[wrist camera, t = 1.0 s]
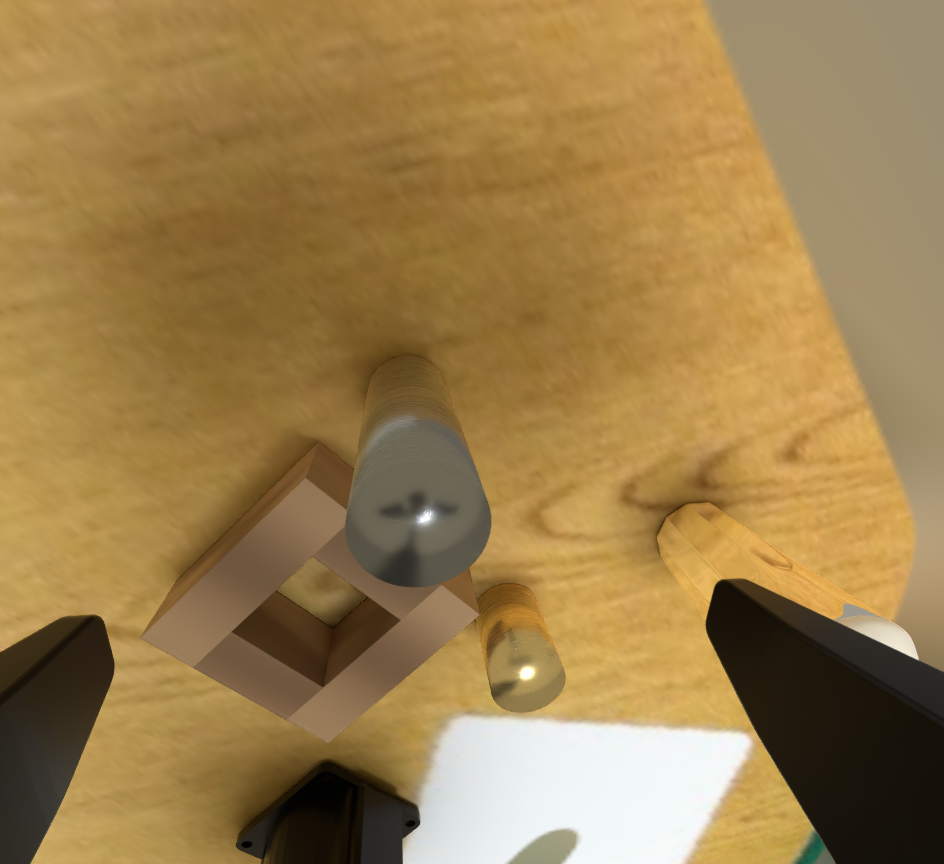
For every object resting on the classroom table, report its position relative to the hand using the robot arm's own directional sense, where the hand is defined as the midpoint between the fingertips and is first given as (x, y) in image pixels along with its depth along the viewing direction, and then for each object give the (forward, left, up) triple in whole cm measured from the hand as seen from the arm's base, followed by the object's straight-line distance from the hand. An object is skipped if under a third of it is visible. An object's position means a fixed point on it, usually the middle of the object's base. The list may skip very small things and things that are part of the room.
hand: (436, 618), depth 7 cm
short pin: (-4, -10, -12) cm, 16 cm away
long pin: (0, 0, -11) cm, 11 cm away
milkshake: (+4, -13, -12) cm, 18 cm away
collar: (-7, -3, -11) cm, 14 cm away
